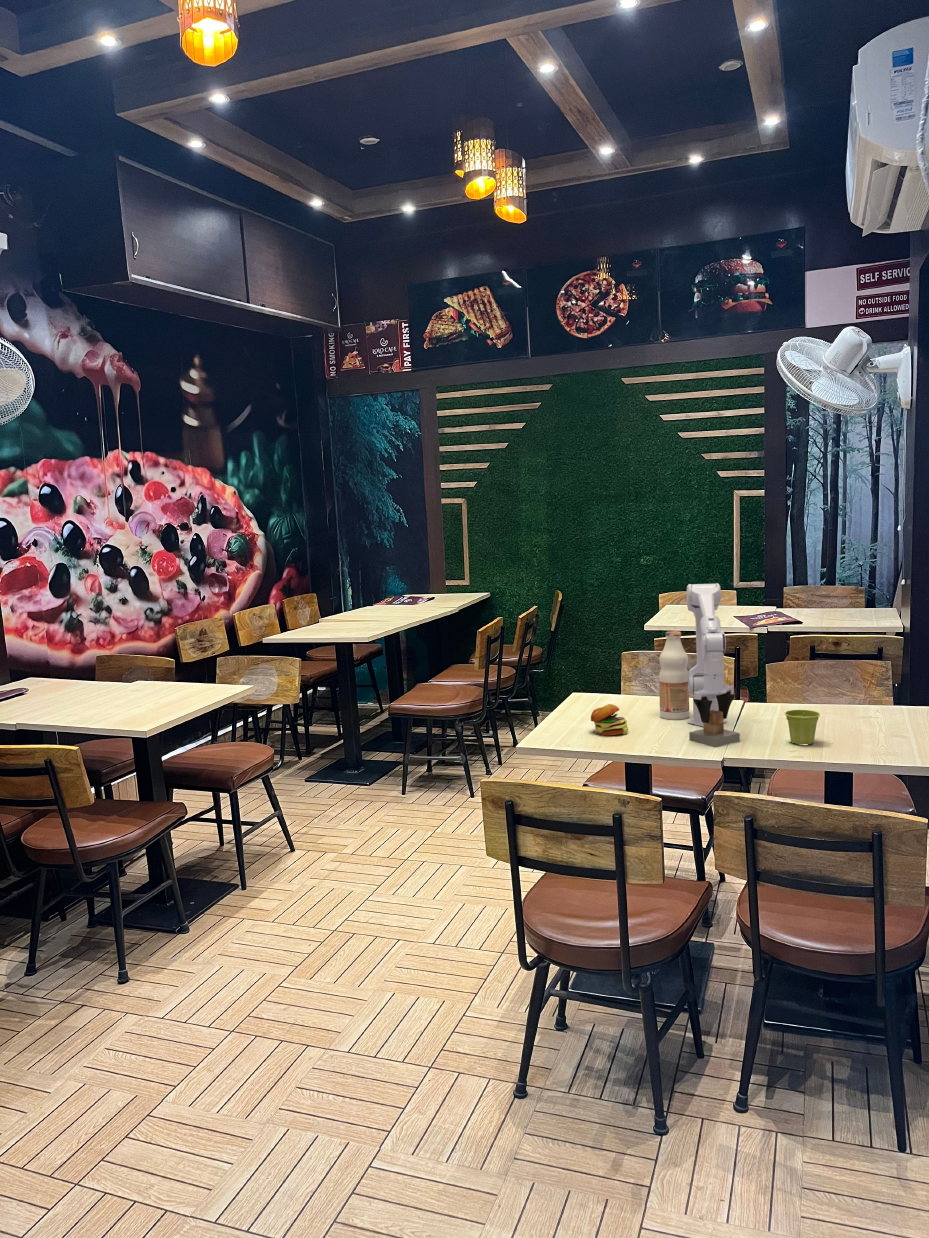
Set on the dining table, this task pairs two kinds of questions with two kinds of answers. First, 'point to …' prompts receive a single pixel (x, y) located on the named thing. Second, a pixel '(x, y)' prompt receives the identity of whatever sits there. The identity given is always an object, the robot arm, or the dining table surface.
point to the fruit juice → (673, 679)
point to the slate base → (714, 738)
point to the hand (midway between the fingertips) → (714, 720)
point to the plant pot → (802, 725)
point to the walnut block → (714, 723)
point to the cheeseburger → (609, 721)
